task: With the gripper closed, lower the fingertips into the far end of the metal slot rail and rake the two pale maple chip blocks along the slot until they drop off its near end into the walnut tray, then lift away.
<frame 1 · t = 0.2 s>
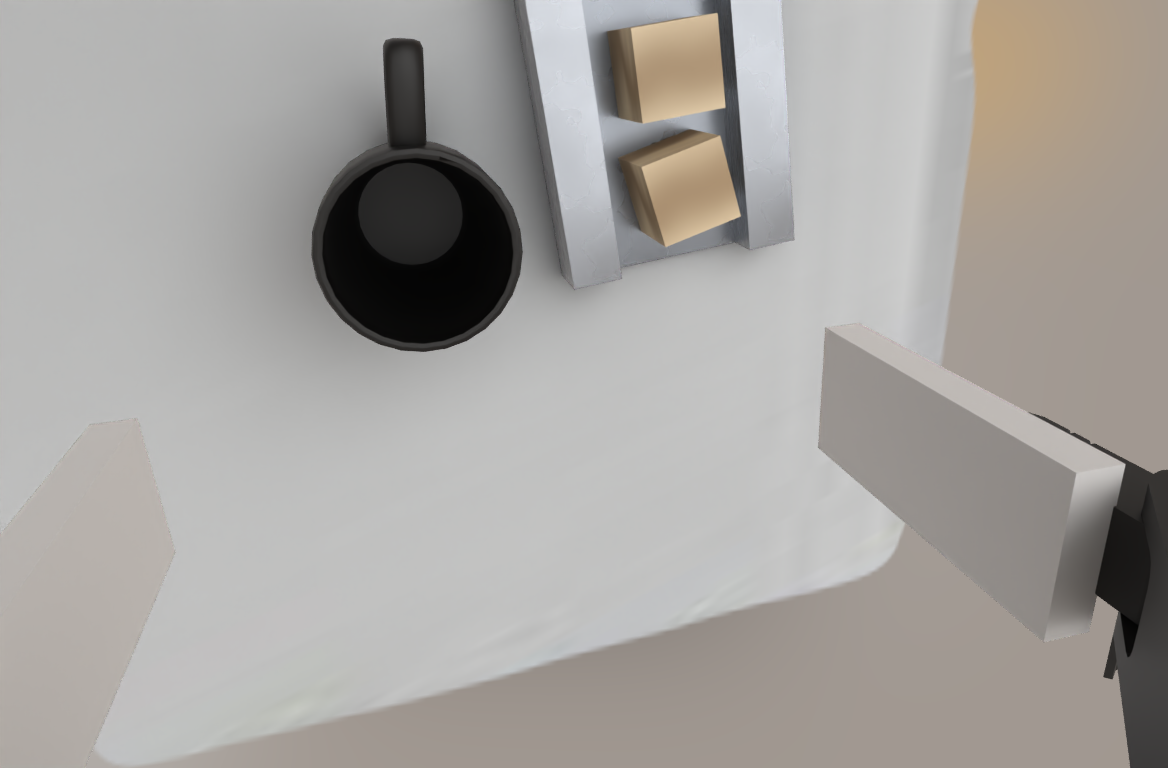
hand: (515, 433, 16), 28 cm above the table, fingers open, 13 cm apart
slot rail: (650, 109, 42), on the table
mug: (409, 174, 40), on the table
chip a: (652, 68, 40), point 1 cm above the table, touching slot rail
chip b: (665, 180, 42), point 1 cm above the table, touching slot rail
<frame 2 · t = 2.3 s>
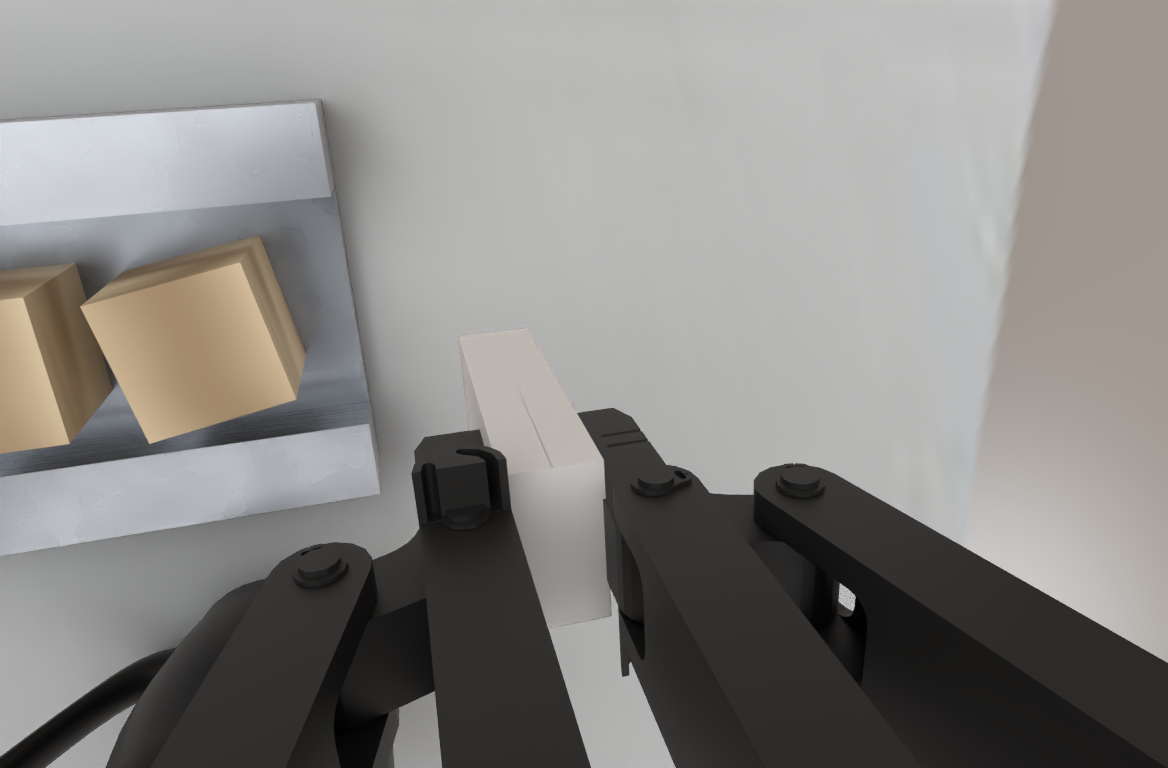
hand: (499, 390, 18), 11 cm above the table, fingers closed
slot rail: (104, 319, 25), on the table
mug: (224, 638, 30), on the table
chip a: (20, 337, 24), point 1 cm above the table, touching slot rail
chip b: (218, 314, 25), point 1 cm above the table, touching slot rail
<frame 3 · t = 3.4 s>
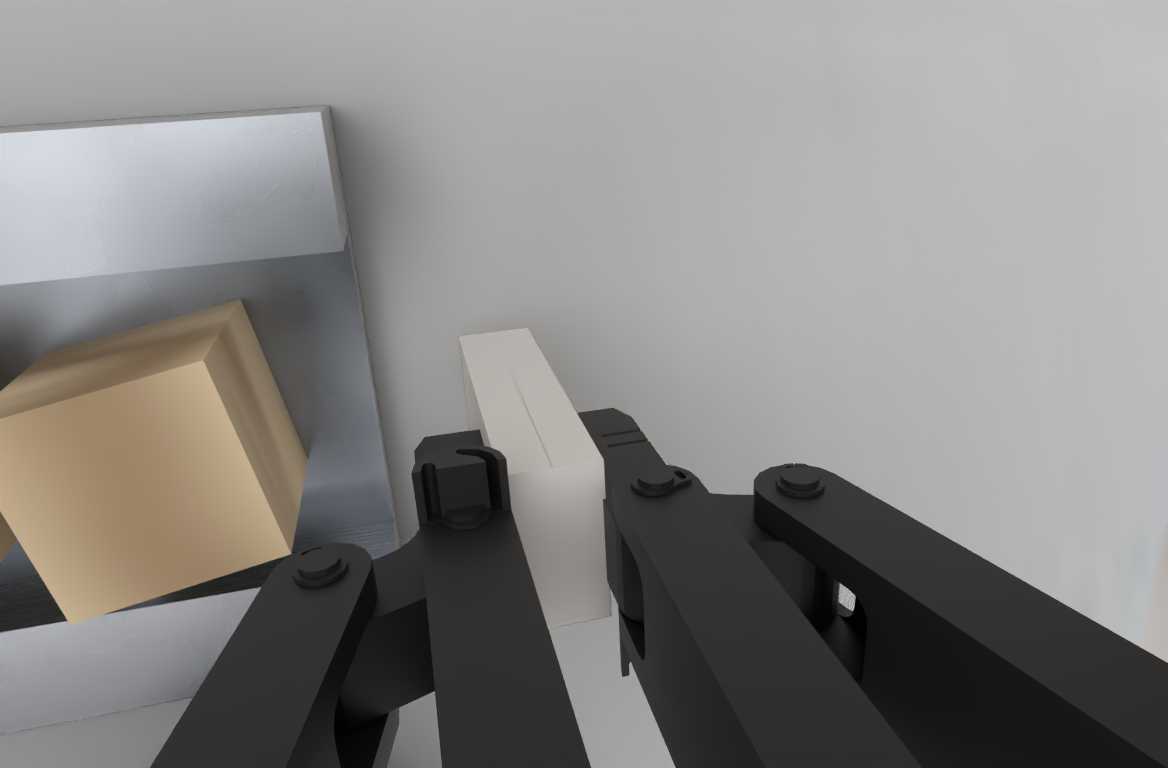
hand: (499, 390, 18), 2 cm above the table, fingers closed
slot rail: (24, 415, 18), on the table
chip b: (184, 409, 18), point 1 cm above the table, touching slot rail
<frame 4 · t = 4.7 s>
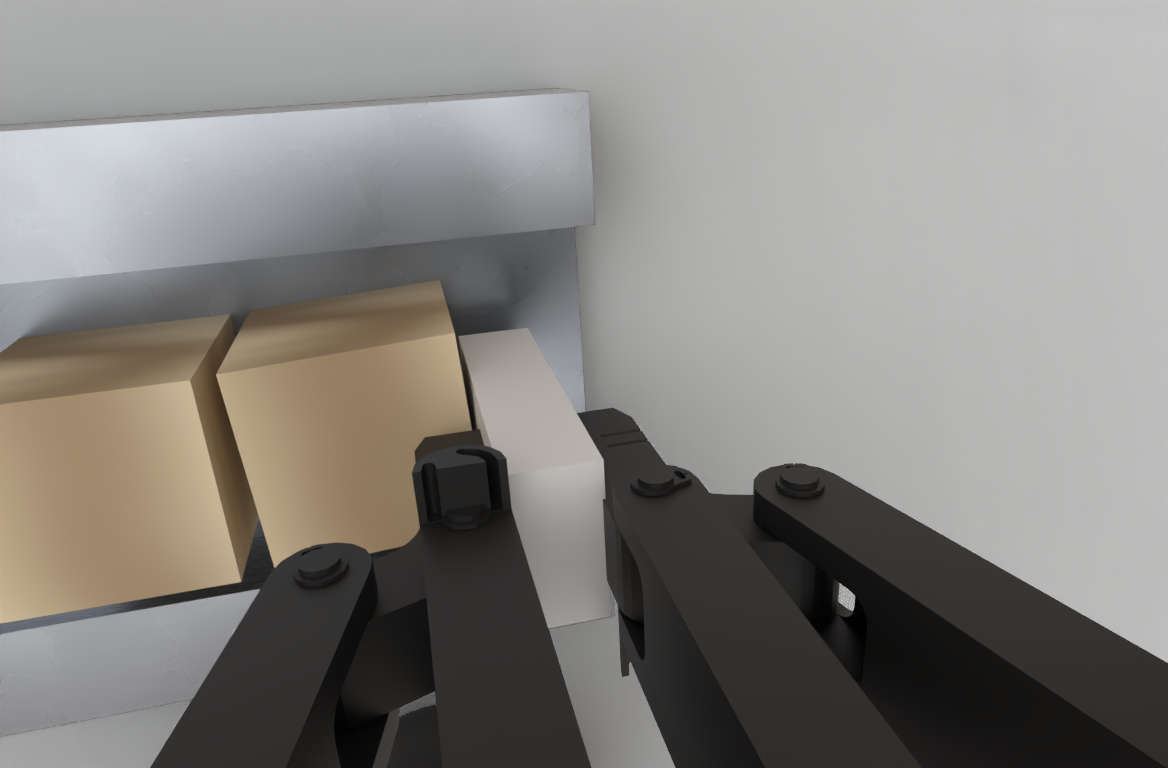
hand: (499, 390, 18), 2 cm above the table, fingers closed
slot rail: (256, 385, 19), on the table
chip a: (152, 414, 17), point 1 cm above the table, touching slot rail
chip b: (366, 379, 18), point 1 cm above the table, touching slot rail
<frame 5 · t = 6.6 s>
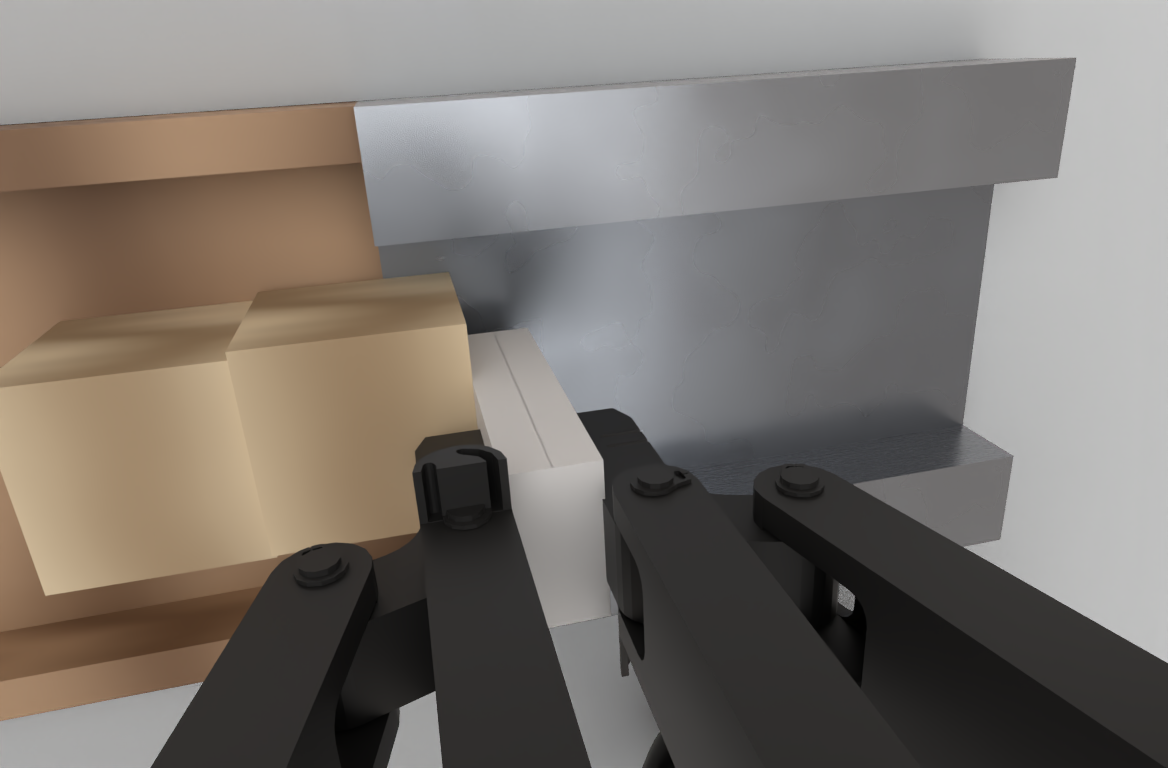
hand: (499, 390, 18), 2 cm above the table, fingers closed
slot rail: (694, 328, 21), on the table
mug: (720, 699, 26), on the table
chip a: (185, 397, 18), point 1 cm above the table
tray: (114, 403, 18), on the table
chip b: (369, 368, 18), point 1 cm above the table, touching gripper, slot rail
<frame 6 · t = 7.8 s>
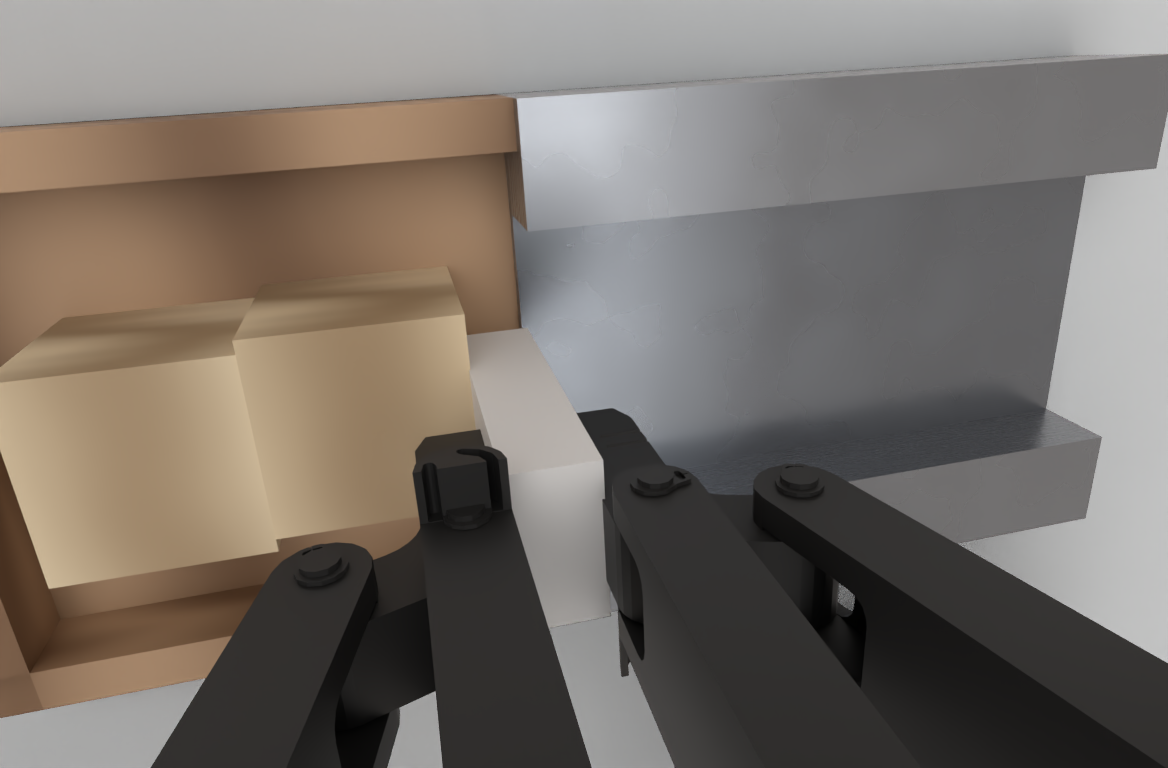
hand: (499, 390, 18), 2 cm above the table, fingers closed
slot rail: (796, 314, 22), on the table
chip a: (187, 393, 18), point 1 cm above the table, touching tray
tray: (253, 384, 19), on the table
chip b: (369, 359, 19), point 1 cm above the table, touching gripper, tray
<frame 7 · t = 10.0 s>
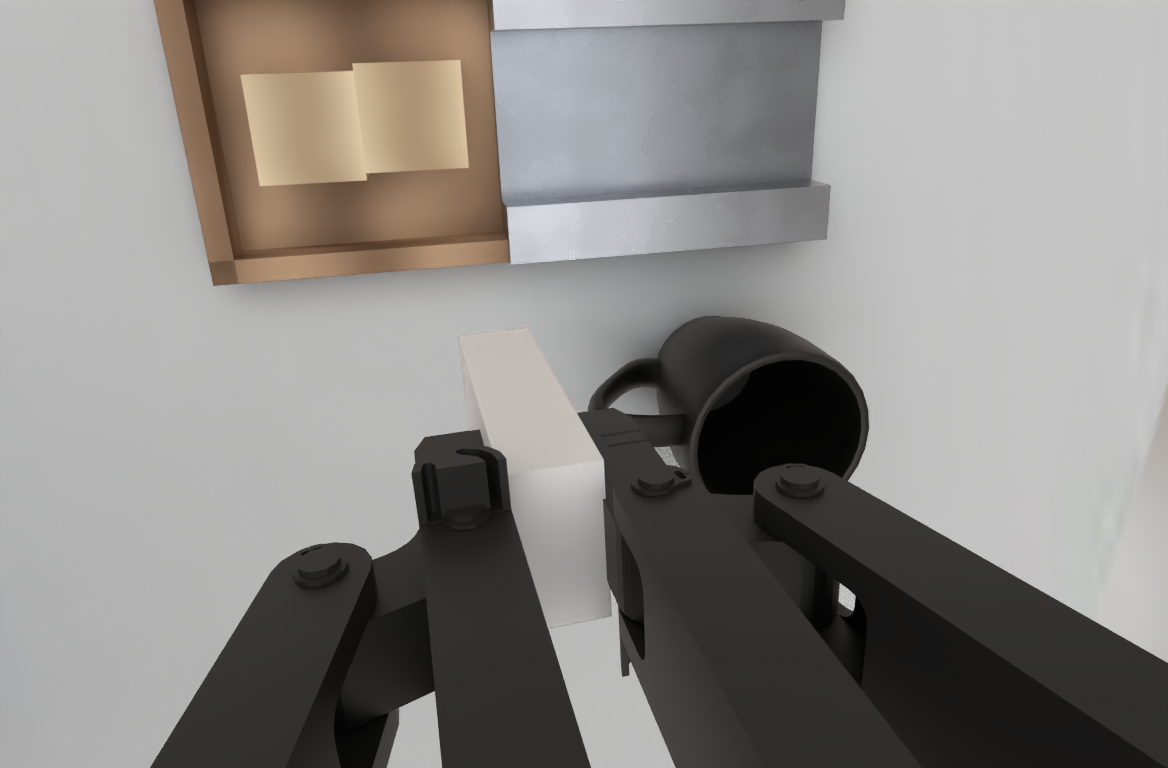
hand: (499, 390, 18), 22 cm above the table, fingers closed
slot rail: (655, 109, 38), on the table
mug: (670, 361, 43), on the table
chip a: (316, 122, 34), point 1 cm above the table, touching chip b, tray
tray: (350, 124, 35), on the table
chip b: (411, 111, 35), point 1 cm above the table, touching chip a, tray
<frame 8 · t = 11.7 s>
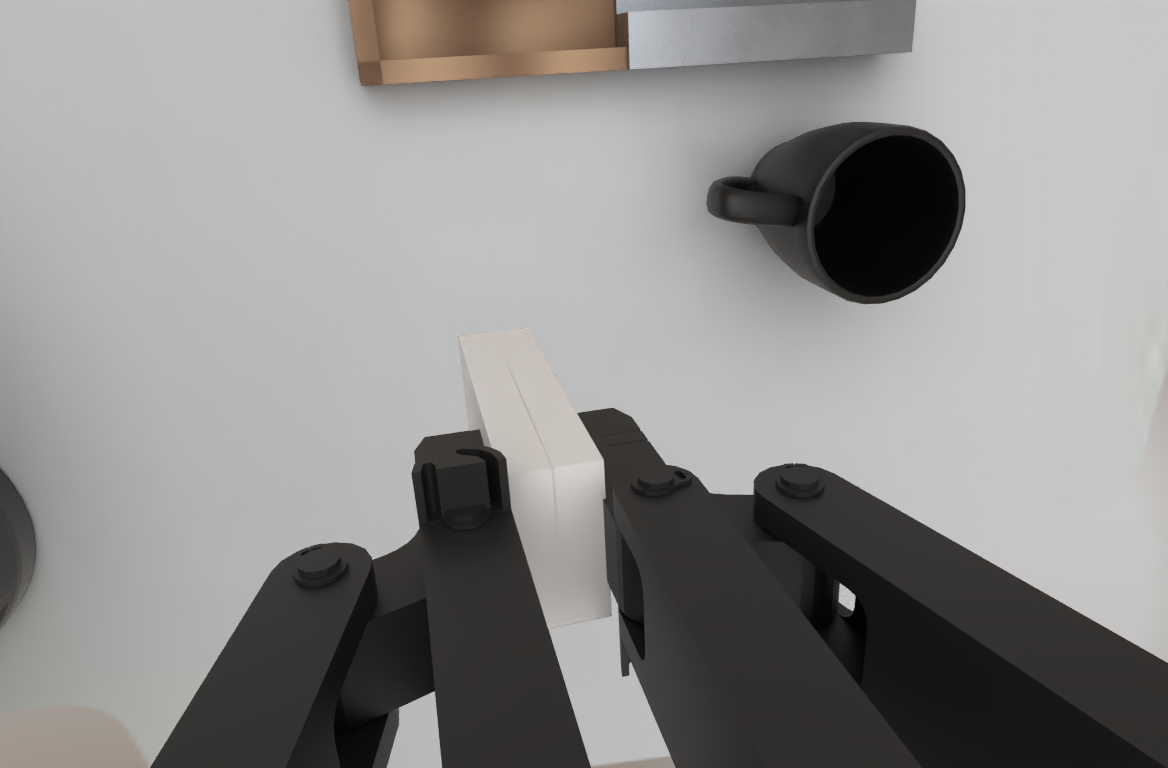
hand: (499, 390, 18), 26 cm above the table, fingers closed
mug: (760, 186, 46), on the table
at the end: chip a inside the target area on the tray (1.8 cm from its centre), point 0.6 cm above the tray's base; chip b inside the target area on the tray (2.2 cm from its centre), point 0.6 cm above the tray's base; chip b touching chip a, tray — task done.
